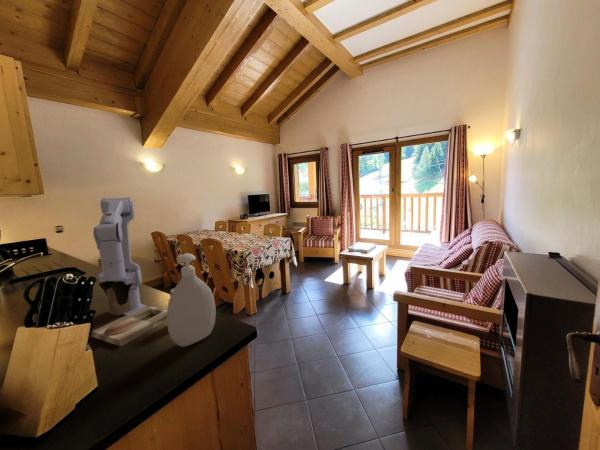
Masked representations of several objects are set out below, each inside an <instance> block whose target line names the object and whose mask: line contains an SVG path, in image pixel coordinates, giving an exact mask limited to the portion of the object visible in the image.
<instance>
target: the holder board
mask: <svg viewBox="0 0 600 450" xmlns="http://www.w3.org/2000/svg"><path fill="white" fill-rule="evenodd" d="M167 310H168V309H167V308H166V309H165V308H160V307H156V306H152V305H146V307H144V308H141V309H139V310H137V311H135V312H133V313H131V314H128V315H124V316H123V317H120V318H118V319H116V320H114V321H111V322H109V323H107V324H105V325H103V326H100V327H99V328H96V329H94V330H92V331H91V333H92V337H93V338H95V339H97V340H101V341H103V342H106V343H109V344H112V345H115V346H118V347H122V346H125V345H126V344H128V343H129V342H131V341H134V340H135V339H137V338H139V337H140V336H142V335H144V334H145V333H147V332H150V331H151V330H153V329H155V328H156V327H159V326H160V325H162V324H163V323H167ZM150 315H154V316H152V317H150V318H149V319H146V320H143V318H146V317H147V316H150Z"/></svg>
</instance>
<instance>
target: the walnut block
mask: <svg viewBox="0 0 600 450" xmlns="http://www.w3.org/2000/svg"><path fill="white" fill-rule="evenodd" d="M107 296H108V297H107ZM106 297H107V301H108V308H109V309H108V310H109V314H111V315H115V316H121V315H123V313H125V312H127V311H129V310H131V307H130V300H129V294H128V301H127V303H125V304H123V305H119V303H118V300H117V297H116V294H115V292H114V290H113V289H112V288H110V289H107V295H106Z"/></svg>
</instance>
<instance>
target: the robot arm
mask: <svg viewBox="0 0 600 450" xmlns="http://www.w3.org/2000/svg"><path fill="white" fill-rule="evenodd" d="M100 209H101V213H102V216H101V218H100V221H99V223H98V224H97V226H94V227H93V238H94V241H95V244H96V249H97V250H98V252H99V258H100V265H101V271H102V272H100V273H97V277H98V278H97V279H98V280H99V283H98V286H99V287H100V288H101V289H102V290H103V292H104V293H105V295H106V297H107V298H108V296H107V289H110V288H112V289H113V290H114V292H115V294H116V297H117V300H118V303H119V305H123V304H125V303H127V301H128V294H129V300H130V307H131V310H129V311H127V312H125V313H123V314H122V315H124V316H127V315H129V314H131V313H133V312H135V311H137V310H140V309H142V308H144V307H146V306H147V304H144V303H142V302H141V297H140V289H139V286H140V285H142V282H143V281H142V280H143V279H142V277H143V276H142V271H141V267H140V265H139V264H138V263H134V262H133V261H132V253H131V243H130V233H129V232H130V231H129V224H130V221H133V220H134V218H135V210H134V209H135V208H134V200H133V198H132V197H130V196H129V197H112V198H102V199H101V200H100Z"/></svg>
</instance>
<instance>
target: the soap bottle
mask: <svg viewBox="0 0 600 450" xmlns="http://www.w3.org/2000/svg"><path fill="white" fill-rule="evenodd" d="M195 260H197V258H196V256H195V255H194V254H192V253H187V252H186V253H183V254H179V255H177V262H178V263H184V264H185V266H182V267H181V268H180V272H181V278H180V280H179V282H178V283H177V284H176V286H175V287H174V288H175V289H174V291H173V293H172V295H171V298H169V300H168V306H167V309H166V310H167V321H166V324H167V331H168V334H169V335H170V339H171V340H172V341H173V343H175V345H177V346H179V347H181V348H184V347H188V346H191V345H193V344H195V343H198V342H200V341H202V340H203V339H205V338H207V337H208V336H210V335H211V333H213V332H212V331H213V329H214V327H215V324H216V316H217V312H216V311H217V310H216V303H215V302H216V301H215V297H214V295H213V292H212V289H211V288H210V287H209V286H208V285H207V284H206V283H205V281H203V280H202V279H200V278H199V277H198V276H197V274H196V267H194V265H192V264H191V265H190V262H193V261H195Z"/></svg>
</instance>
